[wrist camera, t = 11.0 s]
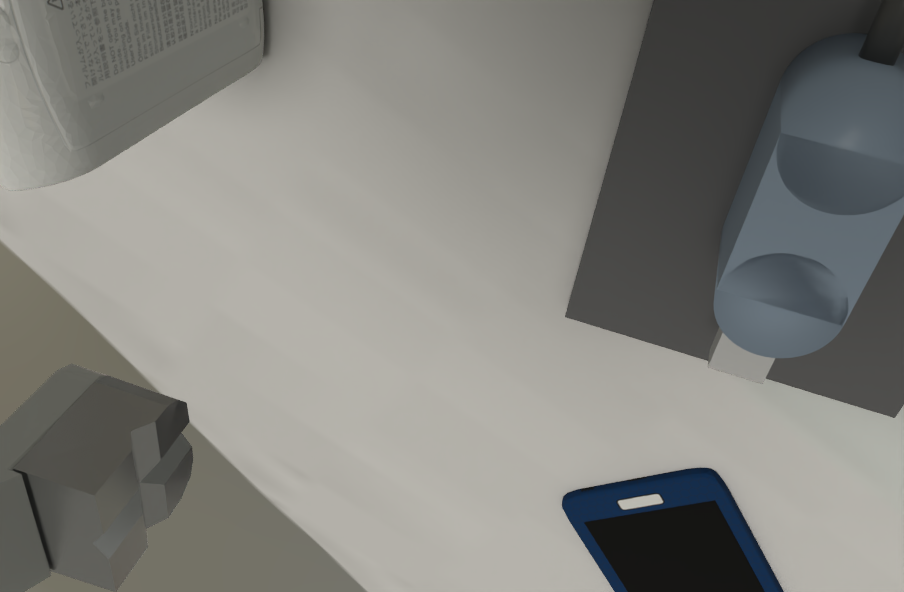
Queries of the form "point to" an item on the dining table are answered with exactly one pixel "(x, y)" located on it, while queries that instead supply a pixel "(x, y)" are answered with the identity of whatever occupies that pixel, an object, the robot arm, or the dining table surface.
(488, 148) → the dining table surface
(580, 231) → the dining table surface
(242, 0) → the photo printer
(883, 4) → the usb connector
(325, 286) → the dining table surface
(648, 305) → the rubber mat
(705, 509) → the cell phone
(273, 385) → the dining table surface
